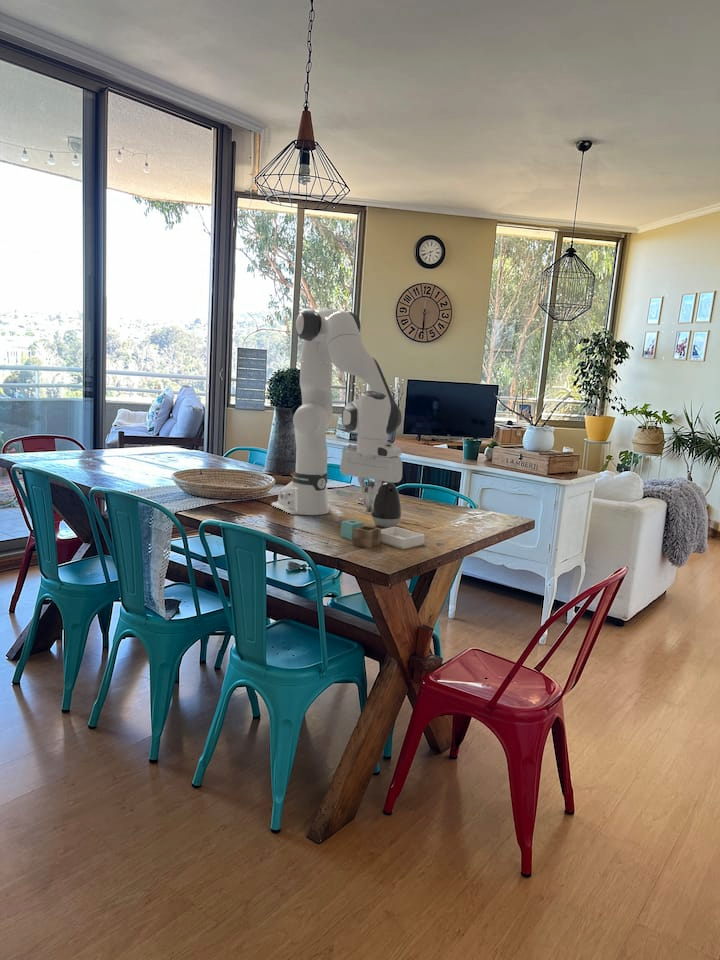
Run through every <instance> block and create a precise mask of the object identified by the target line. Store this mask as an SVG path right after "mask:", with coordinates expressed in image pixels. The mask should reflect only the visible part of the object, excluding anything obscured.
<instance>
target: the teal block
mask: <svg viewBox="0 0 720 960" xmlns="http://www.w3.org/2000/svg"><path fill="white" fill-rule="evenodd" d="M340 524H341V525H340V537H341V538H344V539H348V540H350V541H353V531H354V528H356V527H359V526H363V525H365V522H364V521H360V520H356V519H347V520H342V521H341V523H340Z"/></svg>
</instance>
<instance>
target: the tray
mask: <svg viewBox="0 0 720 960" xmlns="http://www.w3.org/2000/svg"><path fill="white" fill-rule="evenodd" d="M425 536H426V535H425V534H423V533H419V532H417V531H413V530H409V529H405V528H401V527H398V526H394V527H390V528H381V538H380V544H384V545H387V546H391V547H394V548H397V549H401V550H405V549H409V548H415V547H417V546H418V547H419V546H423V545H425Z"/></svg>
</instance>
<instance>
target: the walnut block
mask: <svg viewBox="0 0 720 960" xmlns="http://www.w3.org/2000/svg"><path fill="white" fill-rule="evenodd" d="M381 529H382V527H378V526H377V527H375V526H371V525H367V524H364V525H363V526H359V527H356V528H354V531H353V540H352V545H354V546H359V547H362V548H367V549H371V548H374V547H377V546H380V545H381V543H380V538H381Z"/></svg>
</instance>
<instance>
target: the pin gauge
mask: <svg viewBox="0 0 720 960" xmlns="http://www.w3.org/2000/svg"><path fill="white" fill-rule="evenodd" d="M375 484H376V483H374V481H372V480H369V481H367V482H366V486H367V493H366V505H365V506H366V510H365V511H366V513H371V512H374V498H375V495H374V494H371V488H374V486H375Z"/></svg>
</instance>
